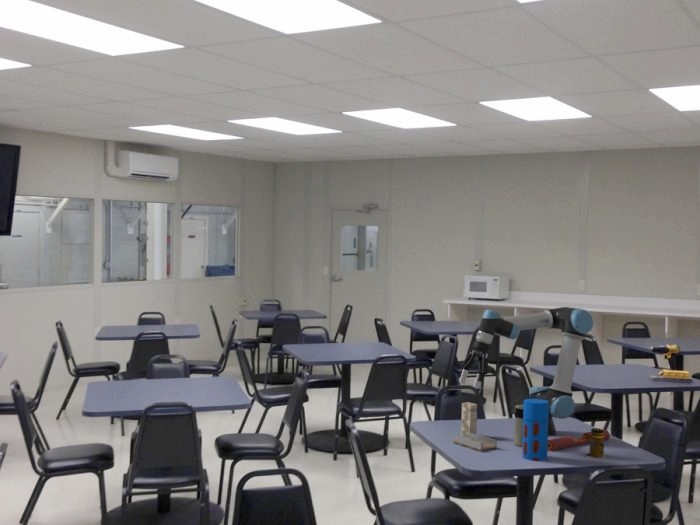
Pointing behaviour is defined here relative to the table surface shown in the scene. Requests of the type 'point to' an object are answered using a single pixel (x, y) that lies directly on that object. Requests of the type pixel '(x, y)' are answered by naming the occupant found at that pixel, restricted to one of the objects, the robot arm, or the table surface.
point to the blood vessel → (572, 441)
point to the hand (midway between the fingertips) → (468, 385)
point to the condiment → (596, 444)
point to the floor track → (476, 442)
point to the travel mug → (518, 425)
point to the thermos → (535, 429)
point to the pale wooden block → (469, 419)
